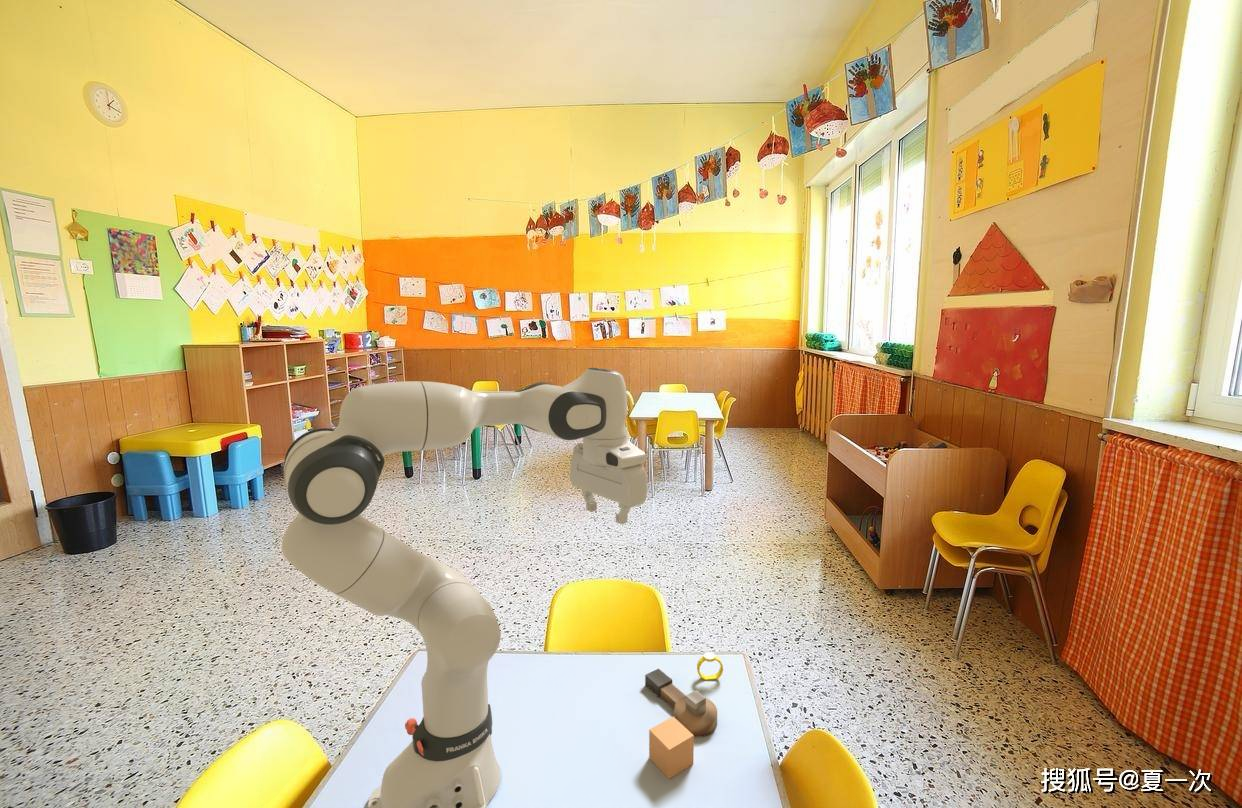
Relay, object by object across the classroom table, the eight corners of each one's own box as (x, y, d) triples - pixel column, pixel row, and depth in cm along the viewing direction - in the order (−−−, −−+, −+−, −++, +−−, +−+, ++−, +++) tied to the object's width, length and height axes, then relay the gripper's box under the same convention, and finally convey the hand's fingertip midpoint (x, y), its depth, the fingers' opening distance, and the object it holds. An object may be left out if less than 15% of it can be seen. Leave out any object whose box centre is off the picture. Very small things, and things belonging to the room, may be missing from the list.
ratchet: (694, 743, 104) (694, 718, 104) (636, 689, 120) (636, 667, 119) (726, 724, 109) (726, 700, 109) (666, 674, 125) (666, 653, 124)
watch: (721, 674, 125) (721, 651, 124) (723, 682, 122) (724, 658, 122) (696, 675, 125) (696, 652, 124) (698, 682, 122) (698, 659, 121)
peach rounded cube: (669, 779, 96) (669, 749, 95) (649, 757, 101) (649, 729, 100) (693, 763, 99) (693, 735, 99) (672, 743, 104) (673, 716, 103)
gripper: (561, 443, 109) (563, 507, 111) (627, 461, 93) (627, 535, 95) (585, 439, 113) (586, 500, 115) (652, 455, 98) (652, 526, 100)
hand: (605, 516), depth 105 cm, fingers open, 8 cm apart
